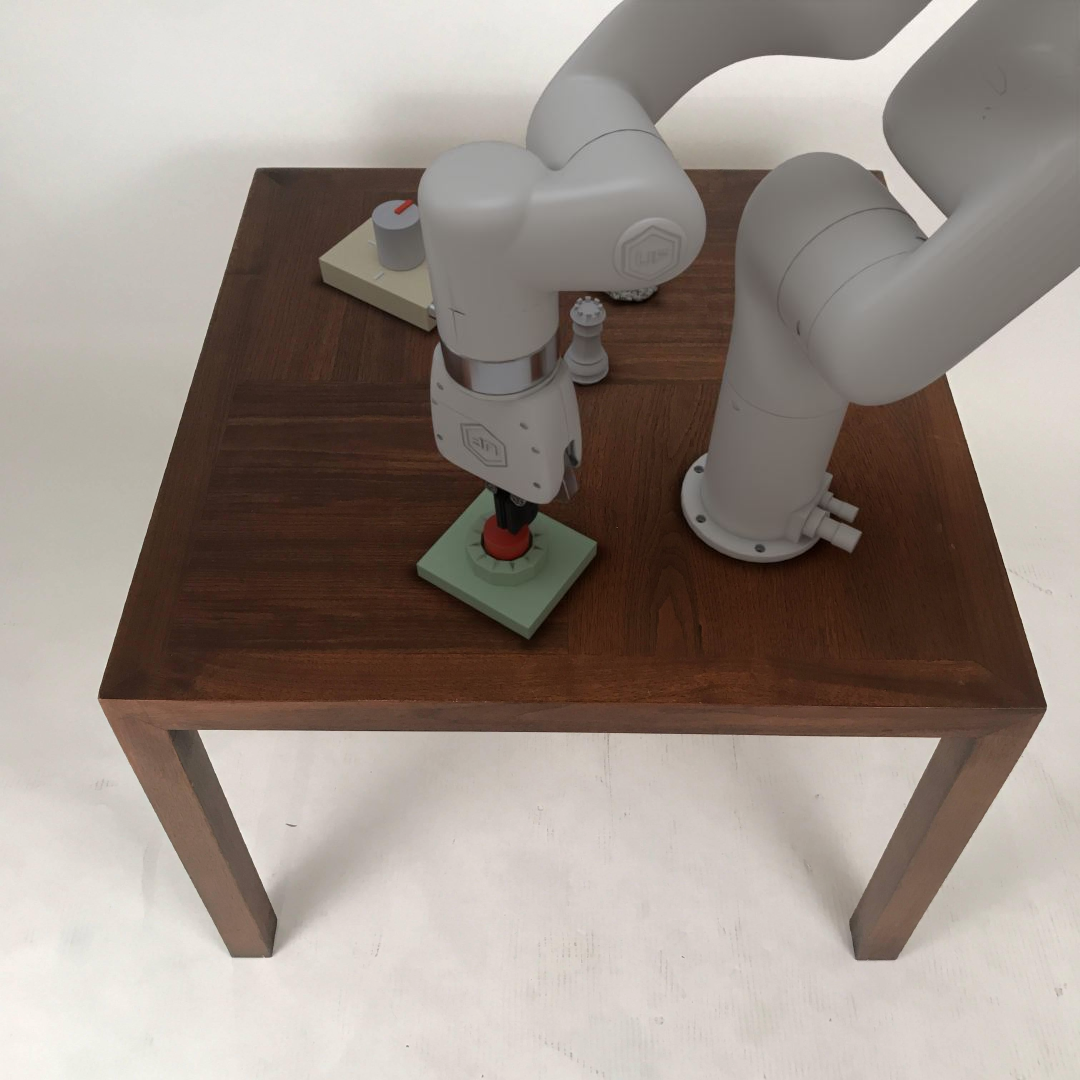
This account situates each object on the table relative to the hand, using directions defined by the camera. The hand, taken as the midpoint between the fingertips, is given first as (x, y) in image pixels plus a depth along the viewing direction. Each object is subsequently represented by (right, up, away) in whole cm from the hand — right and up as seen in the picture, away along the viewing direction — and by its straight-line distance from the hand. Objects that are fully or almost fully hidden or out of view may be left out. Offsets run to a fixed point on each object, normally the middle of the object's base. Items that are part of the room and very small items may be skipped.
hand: (517, 518), depth 77 cm
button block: (-1, -4, +5) cm, 6 cm away
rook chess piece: (+6, +15, +18) cm, 24 cm away
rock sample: (+11, +26, +27) cm, 39 cm away
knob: (-12, +27, +24) cm, 39 cm away
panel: (-12, +26, +26) cm, 39 cm away
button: (-1, -2, +2) cm, 3 cm away
